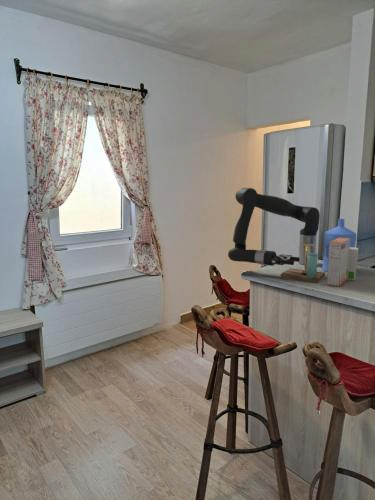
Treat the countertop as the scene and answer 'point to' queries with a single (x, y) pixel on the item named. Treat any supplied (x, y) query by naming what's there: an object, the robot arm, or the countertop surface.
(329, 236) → the water jug
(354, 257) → the skincare box
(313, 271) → the teal cylinder
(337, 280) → the cracker box
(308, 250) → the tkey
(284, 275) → the brown wooden board
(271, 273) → the countertop surface
